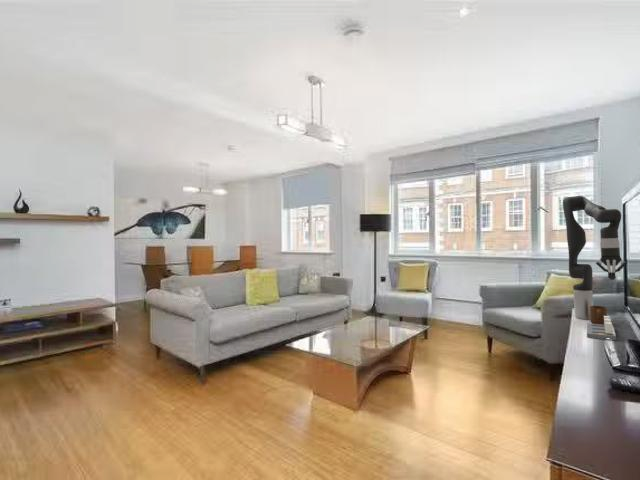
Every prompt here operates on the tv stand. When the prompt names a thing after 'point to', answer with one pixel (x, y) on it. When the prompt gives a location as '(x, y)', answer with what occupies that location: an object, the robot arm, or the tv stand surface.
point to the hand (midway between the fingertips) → (612, 279)
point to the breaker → (608, 327)
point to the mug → (597, 314)
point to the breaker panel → (599, 332)
